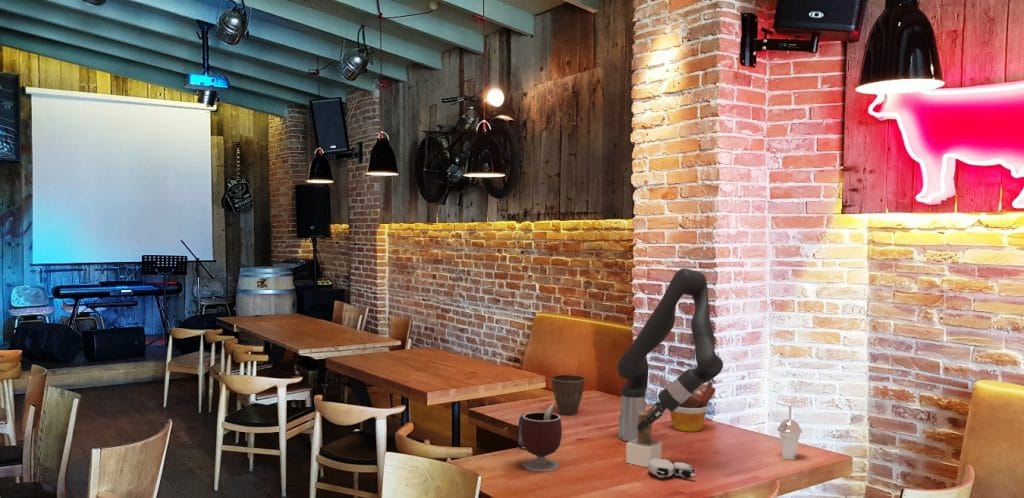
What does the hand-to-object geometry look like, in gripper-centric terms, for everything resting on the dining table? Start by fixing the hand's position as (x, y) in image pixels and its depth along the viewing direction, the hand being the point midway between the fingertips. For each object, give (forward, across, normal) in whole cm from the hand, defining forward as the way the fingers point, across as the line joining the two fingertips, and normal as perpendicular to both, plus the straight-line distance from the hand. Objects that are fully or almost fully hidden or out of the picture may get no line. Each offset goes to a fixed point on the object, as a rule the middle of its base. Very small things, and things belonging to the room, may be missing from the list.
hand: (639, 427), depth 258 cm
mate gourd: (+32, +12, -14) cm, 37 cm away
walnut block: (+2, 0, +5) cm, 5 cm away
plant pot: (+33, -66, -15) cm, 75 cm away
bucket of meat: (-4, -53, +22) cm, 57 cm away
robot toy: (+1, +12, +17) cm, 21 cm away
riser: (+7, 0, +10) cm, 13 cm away
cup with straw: (-28, -20, +46) cm, 58 cm away
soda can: (+38, -8, -20) cm, 44 cm away
